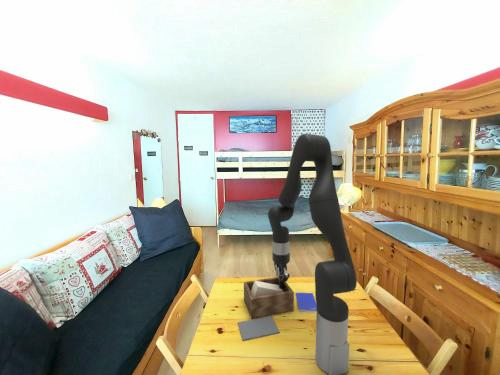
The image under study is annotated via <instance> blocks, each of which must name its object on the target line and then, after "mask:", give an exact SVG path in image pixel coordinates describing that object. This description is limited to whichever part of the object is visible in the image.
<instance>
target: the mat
mask: <svg viewBox="0 0 500 375" xmlns="http://www.w3.org/2000/svg"><path fill="white" fill-rule="evenodd" d="M237 325H238V328H239V333H240V336H241V337H240V338H241V340H242V342H245V341H249V340H254V339H255V340H256V339H260V338H264V337H269V336H273V335H276V334H280V333H281V332H280V330H279V327H278V325H277V324H276V322H275V320H274V318H273V315H271V316H266V317H261V318H256V319H248V320H244V321H238V322H237Z"/></svg>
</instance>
